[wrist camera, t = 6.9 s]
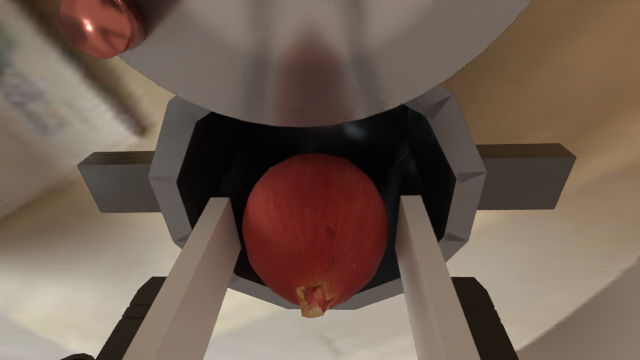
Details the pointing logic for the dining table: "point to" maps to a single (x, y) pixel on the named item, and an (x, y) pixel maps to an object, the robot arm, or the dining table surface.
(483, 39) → the lid
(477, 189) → the pot
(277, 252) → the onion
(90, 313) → the dining table surface
